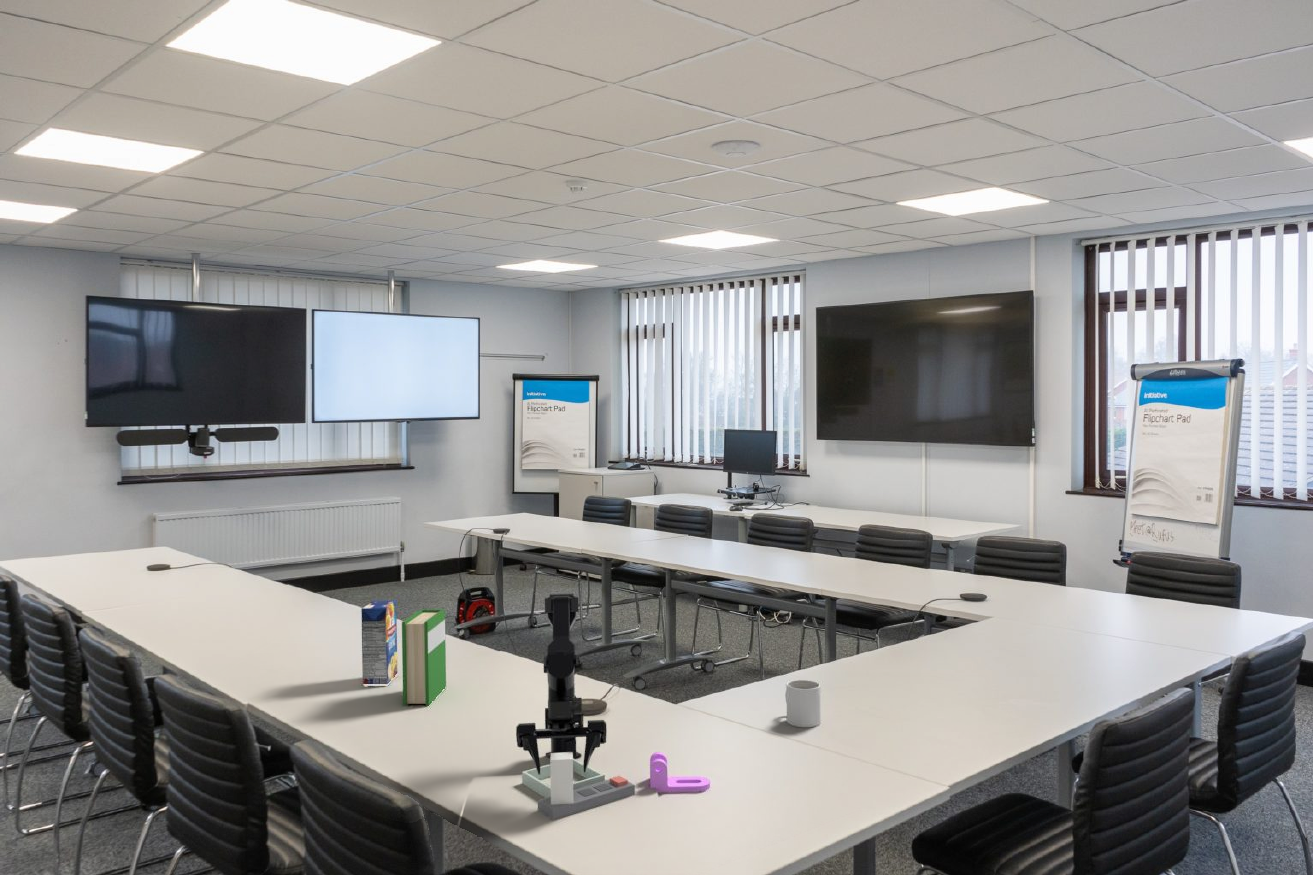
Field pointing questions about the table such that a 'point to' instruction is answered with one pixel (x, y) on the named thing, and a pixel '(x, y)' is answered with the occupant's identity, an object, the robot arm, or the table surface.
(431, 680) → the hardback book
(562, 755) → the white long block
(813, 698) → the mug
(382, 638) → the juice carton
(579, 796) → the power strip
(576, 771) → the tray
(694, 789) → the bracket
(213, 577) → the table surface
